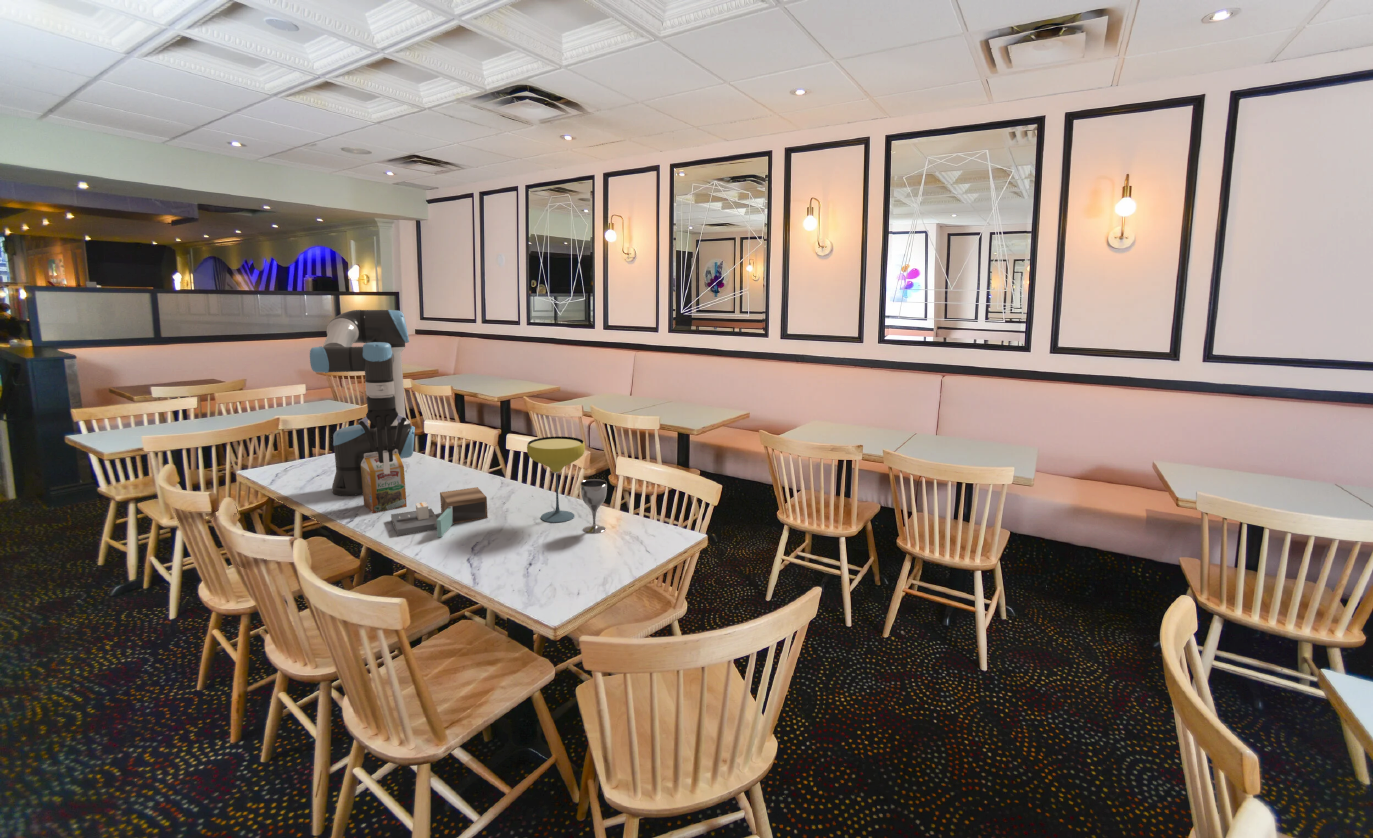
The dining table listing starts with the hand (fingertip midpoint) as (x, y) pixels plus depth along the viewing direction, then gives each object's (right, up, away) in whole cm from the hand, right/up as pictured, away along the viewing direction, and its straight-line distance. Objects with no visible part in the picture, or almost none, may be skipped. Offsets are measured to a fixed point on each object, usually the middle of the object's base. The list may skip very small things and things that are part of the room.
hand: (386, 472), depth 189 cm
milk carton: (-12, -14, +23) cm, 29 cm away
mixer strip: (+6, -17, +7) cm, 19 cm away
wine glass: (+62, -18, +5) cm, 65 cm away
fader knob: (+8, -15, +7) cm, 18 cm away
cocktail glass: (+48, -16, +16) cm, 53 cm away
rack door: (+17, -18, +2) cm, 24 cm away
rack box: (+18, -15, +16) cm, 28 cm away
